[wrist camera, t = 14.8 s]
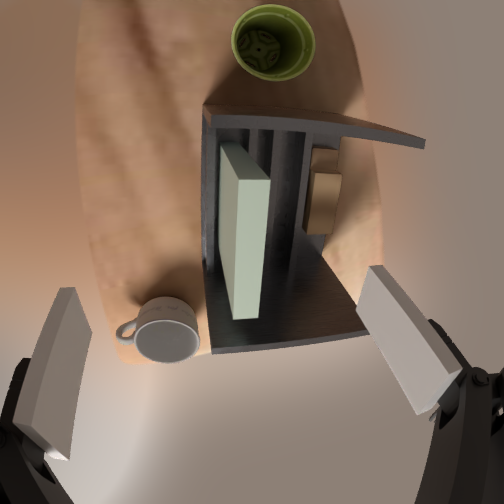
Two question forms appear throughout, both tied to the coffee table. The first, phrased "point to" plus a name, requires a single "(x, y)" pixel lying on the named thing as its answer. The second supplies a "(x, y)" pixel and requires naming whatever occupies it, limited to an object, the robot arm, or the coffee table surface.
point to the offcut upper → (321, 201)
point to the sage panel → (241, 226)
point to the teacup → (163, 331)
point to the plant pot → (273, 42)
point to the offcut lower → (322, 161)
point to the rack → (280, 228)
